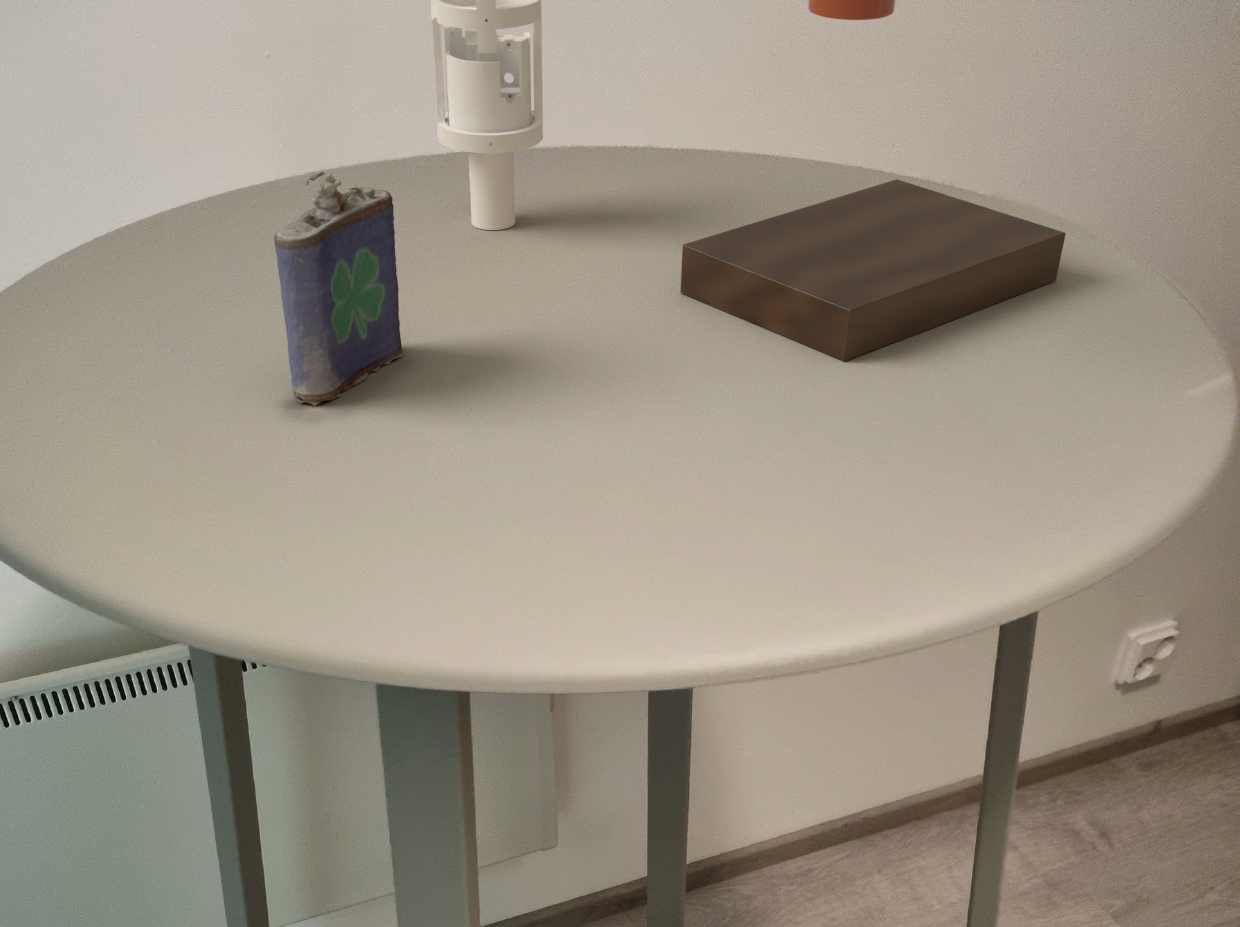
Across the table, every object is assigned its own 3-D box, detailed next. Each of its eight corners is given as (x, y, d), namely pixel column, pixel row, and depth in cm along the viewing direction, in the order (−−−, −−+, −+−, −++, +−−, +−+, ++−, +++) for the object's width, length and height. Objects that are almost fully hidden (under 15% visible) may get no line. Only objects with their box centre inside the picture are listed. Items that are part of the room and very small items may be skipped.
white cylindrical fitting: (441, 241, 102) (427, -11, 92) (443, 206, 108) (430, -35, 98) (545, 239, 103) (542, -12, 93) (542, 205, 108) (539, -37, 98)
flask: (320, 409, 82) (296, 204, 75) (277, 399, 83) (249, 195, 76) (413, 351, 88) (399, 156, 81) (372, 341, 90) (354, 148, 82)
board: (1056, 281, 97) (1066, 232, 95) (844, 362, 87) (850, 310, 85) (890, 224, 105) (896, 179, 103) (679, 293, 95) (682, 244, 93)
